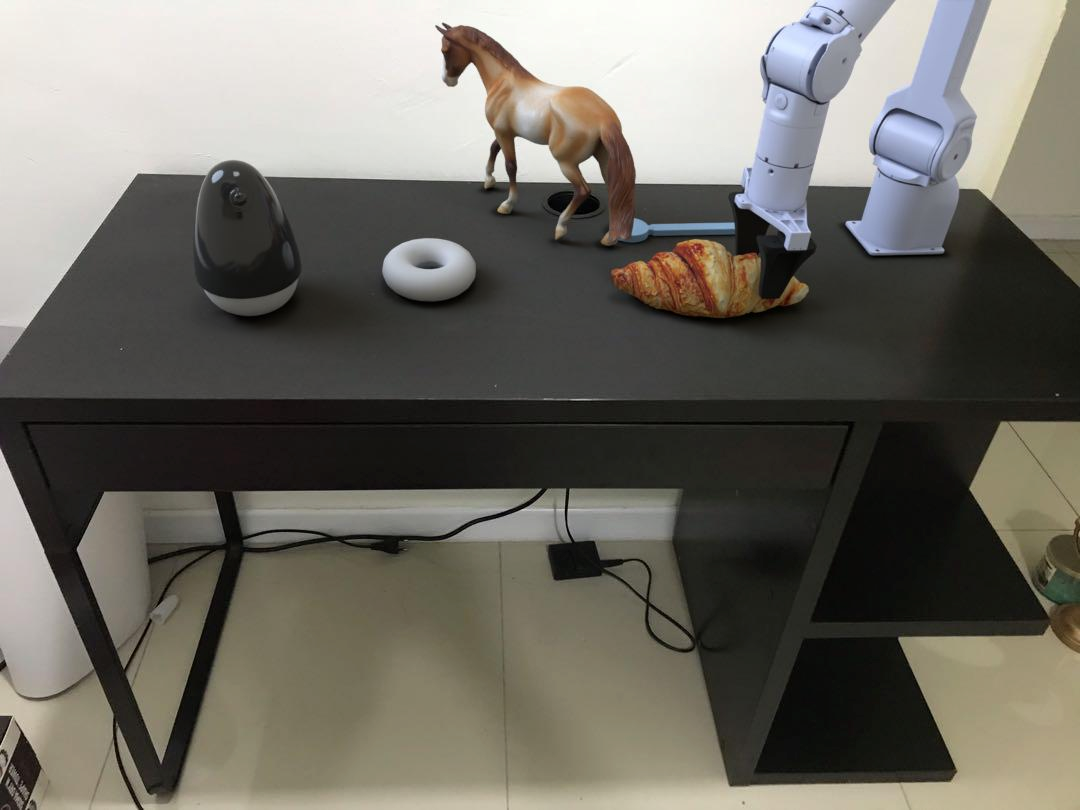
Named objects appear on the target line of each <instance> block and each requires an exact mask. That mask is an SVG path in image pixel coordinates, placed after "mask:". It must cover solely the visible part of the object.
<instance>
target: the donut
mask: <svg viewBox="0 0 1080 810" xmlns="http://www.w3.org/2000/svg"><path fill="white" fill-rule="evenodd" d="M381 269H382V271H381V272H382V276H383V279H384V281H385V284H386V285H387V286H388V287H389V289H391V290H392V291H393V292H395V293H396V294H398V296H401V297H404V298H406V299H409V300H413V301H417V302H439V301H447V300H449V299H452V298H455V297H458V296H459V295H461V294H462V293H463V292H465V291H467V290H468V289H469V288H470V286H471V285H472V283H473V282H474V281H475V278H476V274H477V273H476V272H477V265H476V261H475V259H474V257H473V256H472V255H471V253H470V252H469V251H468V250H467V249H466V248H464V247H463V246H462V245H460V244H458V243H456V242H454V241H451V240H447V239H441V238H434V237H433V238H429V237H425V238H416V239H411V240H409V241H408V240H407V241H405V242H402V243H400V244H399V245H397V246H395V247H394V248H392V249H390V251H389V252H388V253H387V255H386V256H385V258H384V260H383V264H382V268H381Z"/></svg>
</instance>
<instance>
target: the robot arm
mask: <svg viewBox="0 0 1080 810" xmlns="http://www.w3.org/2000/svg"><path fill="white" fill-rule="evenodd" d="M992 1H993V0H937V2H936V5H935V8H934V11H933V14H932V18H931V21H930V24H929V27H928V30H927V34H926V37H925V40H924V43H923V46H922V49H921V52H920V56H919V57H918V62H917V65H916V68H915V71H914V74H913V77H912V80H911V83H910V84H907V85H905V86H902V87H900V88H898V89H895V90H894V91H892V92H891V93H890V94H889V95H887V96H886V98H885V101H884V103H883V106H882V108H881V110H880V111H879V115H878V116H877V118H876V119H875V121H874V123H873V124H872V127H871V128H870V132H869V137H868V147H869V152H870V153H871V154H872V155H873V156H874V157H873V161H872V165H874V166H876V171H875V174H874V177H873V180H872V184H871V187H870V191H869V193H868V197H867V200H866V204H865V207H864V210H863V214H862V217H861V220H847V221H846V222H845V226H846V228H847V229H848V230H849V231H850V232H851V234H852V235H853V236H854V237H855V238H856V240H857V241H858V243H860V245H861V246H862V247H863V248H864V249H865V251H866V252H867V253H868V254H869V255H870V256H874V257H875V256H906V255H908V256H912V255H913V256H915V255H942V254H944V253H945V249H944V248H943V244H944V241H945V239H946V236H947V234H948V230H949V228H950V225H951V223H952V220H953V217H954V215H955V213H956V210H957V207H958V203H959V199H960V186H959V181H958V178H957V176H956V175H957V174H958V173H959V172H960V170H961V169H962V168H963V166H964V165H965V163H966V161H967V160H968V158H969V155H970V153H971V149H972V144H973V132H974V128H975V126H976V122H977V118H978V116H977V113H976V112H975V110H974V108H973V107H972V105H971V104H970V103H969V101H968V100H967V98H966V97H965V95H964V94H963V92H962V90H961V88H962V86H963V84H964V83H963V82H964V80H965V77H966V74H967V71H968V68H969V66H970V63H971V61H972V58H973V54H974V51H975V49H976V46H977V44H978V41H979V38H980V35H981V32H982V29H983V27H984V24H985V21H986V18H987V15H988V12H989V9H990V7H991V4H992ZM895 2H897V0H814V1H813V3H811V6H810V7H809V8H808V9H807V10H806V12H805V13H804V14H803V16H802V17H801V18H800V19H799V20H798V21H794V22H791V24H787V25H784V26H782V27H780V28H778V29H777V31H775V33H774V34H773V35H772V36H771V38H770V39H769V42H768V43H767V45H766V48H765V52H764V54H762V55H761V56H760V61H759V71H760V77H761V78H762V82H763V87H762V92H761V98H762V102H763V103H764V104H765V107H764V110H763V116H762V121H761V125H760V129H759V134H758V140H757V145H756V148H755V153H754V159H753V163H752V167H751V166H750V167H749V166H748V167H746V166H744V167H743V170H742V171H743V172H742V175H741V181H740V185H741V187H742V188H744V189H742V190H741V191H732V192H730V193H728V196H727V197H728V201H729V204H730V207H731V210H732V216H733V223H734V224H735V234H734V239H735V240H734V241H735V243H734V244H735V256H738V255H745V254H749V253H756V254H757V256H758V257H760V258H761V272H760V281H759V296H760V297H761V299H779V298H780V297H781V296H782V294H783V292H784V291H785V289H786V287H787V285H788V284H789V282H790V280H791V278H792V277H793V276H794V275H795V274H796V272H797V271H798V270H799V268H800V267H801V266H802V265H803V264H804V263H805V262H806V261H807V260H808V259H809V258H810V257H812V256H813V255H814V254H815V253H816V250H817V247H818V246H817V243H816V242H815V241H814V240H813V238H812V237H811V235H812V231H811V230H810V228H809V226H808V208H807V205H808V204H807V200H806V199H807V194H808V190H809V187H810V184H811V178H812V175H813V172H814V167H815V163H816V159H817V155H818V150H819V147H820V143H821V139H822V136H823V131H824V127H825V123H826V119H827V116H828V111H829V108H830V104H831V101H832V100H833V99H835V97H837V95H839V94H840V93H841V92H842V91H843V90H844V88H845V87H846V85H847V84H848V82H849V80H850V78H851V76H852V73H853V70H854V68H855V65H856V62H857V60H858V59H859V57H860V56H861V53H862V51H863V47H862V43H863V42H864V41H865V40H866V39H867V37H868V36H869V34H870V33H871V32H872V31H873V30H874V28H875V27H876V26H877V25H878V23H879V22H880V21H881V20H882V19H883V17H884V16H885V15H886V14H887V12H888V11H889V10H890V8H891V7H892V6H893V5H894V3H895ZM770 226H773V227H774V228H776V229H777V230H778V231H777V233H776V234H770V235H766V234H767V232H768V230H769V227H770Z"/></svg>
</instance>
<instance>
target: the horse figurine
mask: <svg viewBox="0 0 1080 810" xmlns="http://www.w3.org/2000/svg"><path fill="white" fill-rule="evenodd" d="M441 25H442V26H443V28H442V27H441V26H439V25H437V24H435V26H434V27H435V28H436V30H437V31H438V32H439V33H440V34H441V35H442V37H441V48H440V52H441V53H442V59H443V60H442V63H443V64H442V65H443V66H442V75H441V80H442V83H444V84H445V85H446V86H447V87H448V88H450V87H451V88H454V87H456V86H457V85H458V83H459V78H460V77H461V75H462V74H463V73H464V72H465V70H466V69H467V68H468V66H469V65H471V64H473V65H474V67H475V68H476V70H477V72H478V74H479V77H480V79H481V82H482V84H483V86H484V88H485V91H486V98H485V104H484V112H485V113H484V116H485V119H486V121H487V123H488V124H489V126H490V128H491V129H492V130H493V133H494V137H495V139H494V140H493V141H492V143H491V145H490V147H489V157H488V159H487V163H486V165H485V168H484V169H485V176H484V185H483V186H484V189H485V190H487V189H489V188H492V187H494V186H496V184H497V181H496V177H495V176H494V175H493V173H494V172H495V167H496V166H495V164H496V161H497V157H498V154H499V153H500V151H501V152H502V155H503V157H504V166H505V172H506V175H507V177H508V181H509V193H508V198H507V199H505V201H503V202H502V203H501V204H500V206H499V207H498V208H497V212H498V213H499V214H503V215H508V214H511V212H512V210H513V208H514V207H513V204H514V203H516V202H518V200H519V194H518V186H517V173H518V163H517V162H518V161H517V154H516V143H515V138H517V137H518V138H522V139H524V140H526V141H529V142H531V143H533V144H535V145H541V146H548V150H549V152H550V153H551V155H552V157H553V159H554V160H555V161H556V162H557V164H558V167H559V169H560V172H561V173H562V175H563V177H565V179H566V180H568V181H569V182H570V184H571V185H572V187H573V197H572V199H571V201H570V203H569V204H568V205H567V207H566V209H564V210H563V211H562V213H561V214H560V215H559V217H558V221H557V224H556V226H555V235H554V240H555V241H559V240H561V239H562V238H563V237H565V236H566V235H568V228H567V226H566V224H567V223H570V222H571V219H572V217H573V216H574V214H575V213H576V211H577V209H578V208H579V207H580V206H581V205H582V204H583V203H584V202H585V201H586V200H587V199H588V198H589V197H590V196H591V194H592V188H591V186H590V184H589V183H588V182H587V181H586V179H585V178H584V175H583V173H582V171H581V169H580V164H582V163H584V162H586V161H587V160H589V159H591V157H593V158H594V159H595V161H596V162H597V163H598V166H599V167H598V168H599V170H600V171H599V172H600V174H601V177H602V179H603V182H604V184H605V186H606V189H607V192H608V199H607V201H608V203H607V204H608V220H609V224H608V225H609V226H608V229H609V230H608V231H607V232H606V233H605V235H604V236H603V238H602V239H601V240H600V244H602V245H603V246H607V247H611V246H615V245H617V243H618V241H619V240H618V239H619V238H621V239H622V240H625V239H630V237H631V235H632V230H633V224H634V218H635V217H636V209H635V204H636V203H635V202H636V196H635V195H636V192H635V189H636V179H637V171H636V167H635V161H634V157H633V154H632V151H631V148H630V146H629V144H628V142H627V140H626V138H625V136H624V134H623V126H622V122H621V120H620V118H619V116H618V114H617V112H616V111H615V110H614V108H613V107H612V106H611V105H610V104H609V103H608V102H607V101H606V100H604V98H603V97H601V96H600V95H599V94H597V93H596V92H595V91H593V90H592V89H590V88H588V87H584V86H577V85H575V86H563V85H562V86H561V85H556V84H553V83H548V82H545V81H543V80H541V79H539V78H538V77H536V76H535V75H534V74H532V73H531V72H530V71H529V70H528V69H527V68H525V67H524V66H523V65H522V64H521V63H520V62H519V60H518V59H517V58H516V57H515V56H514V55H513V54H512V53H511V52H509V51H508V50H507V49H506V48H505V47H504V46H503V45H502V44H501V43H500V42H498V41H497V40H496V39H494V38H493V37H492V36H490V35H488V34H487V33H486V32H484V31H481V30H480V29H478V28H477V27H474V26H470V25H464V24H463V25H462V24H459V25H457V26H451V25H449V24H447V23H445V22H441Z"/></svg>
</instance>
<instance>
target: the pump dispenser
mask: <svg viewBox="0 0 1080 810" xmlns="http://www.w3.org/2000/svg"><path fill="white" fill-rule="evenodd" d="M197 196H198V197H197V199H196V201H197V202H196V206H195V214H194V223H193V238H192V245H193V246H192V248H193V249H192V251H193V252H192V253H193V255H192V256H193V268H194V274H195V279H196V282H197V284H198V285H199V286H200V288H201V289H203V291H204V293H205V294H206V296H207V297H208V299H209V300H210V301H211V302H212V303H213V304H214V305H215V306H217V307H218V308H220V309H221V310H223V311H224V312H227V313H229V314H233V315H237V316H243V317H257V316H262V315H265V314H270V313H271V312H274V311H276V310H278V309H280V308H281V307H283V306H284V305H285V304H286V303H287V302H289V301H290V299H291V298H292V297H293V295H294V293H295V291H296V288H297V285H298V282H299V277H300V276H301V273H302V267H303V266H302V259H301V255H300V254H301V253H300V250H299V247H298V244H297V241H296V238H295V235H294V232H293V228H292V225H291V224H290V222H289V219H288V217H287V214H286V212H285V210H284V208H283V205H282V203H281V201H280V200H279V198H278V196H277V194H276V192H275V190H274V188H273V187H272V186H271V184H270V183H269V181H268V180H267V179H266V177H265V176H264V175H263V173H261V172H260V171H259V170H258V168H256V167H255V166H254V165H252V164H251V163H248V162H246V161H244V160H239V159H227V160H223V161H221V162H219V163H217V164H215V165H214V166H212V167H211V168H210V169H209V171H208V172H207V174H206V175H205V177H204V179H203V181H202V184H201V186H200V188H199V192H198V195H197Z"/></svg>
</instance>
